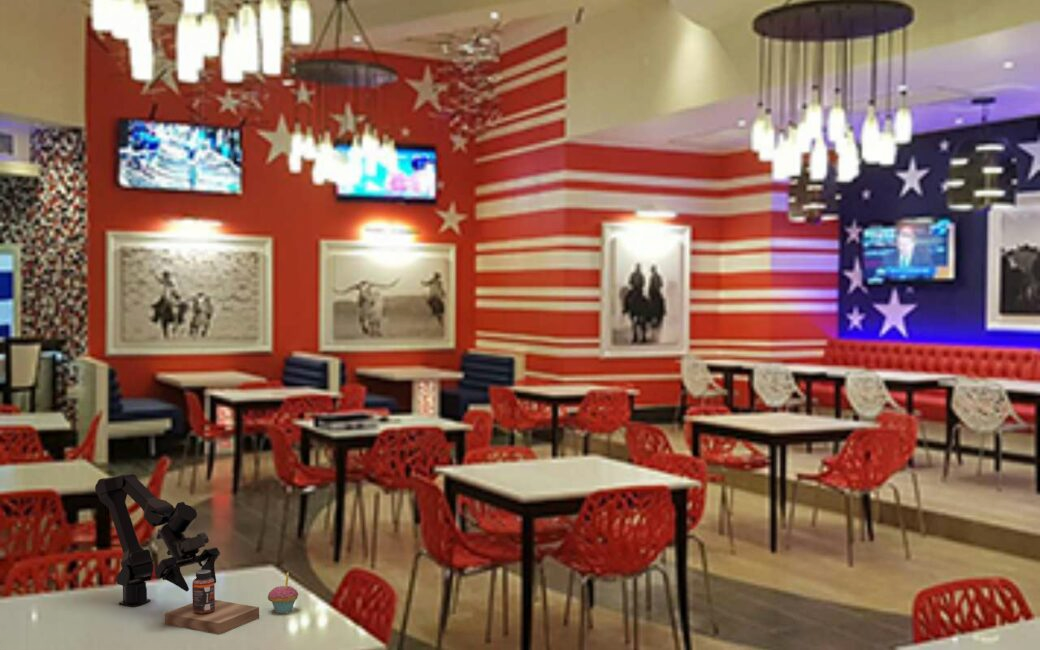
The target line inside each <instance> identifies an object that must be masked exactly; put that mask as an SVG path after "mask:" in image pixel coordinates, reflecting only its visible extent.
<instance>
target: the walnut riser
mask: <svg viewBox="0 0 1040 650" xmlns="http://www.w3.org/2000/svg"><path fill="white" fill-rule="evenodd" d="M163 615H164V616H163V618H164V621H163V622H164V625H168V626H173V627H177V628H184V629H189V630H194V631H195V630H196V631H199V632H207V633H209V634H210V633H211V634H217V635H222V634H224V633H226V632H228V631H231V630H233V629H236V628H239V627H240V626H242V625H245V624H247V623H250V622H253V621H256V620H257V619H260V606H253V605H248V604H242V603H237V602H229V601H224V600H219V599H218V600H217V599H215V610H214V611H213V612H211V613H207V614H196V613H194V612H193V602H192V603H189V604H186V605H184V606H181V607H178V608H175V609H173V610H169V611H168V612H167V611H166V612H165V613H164V614H163Z"/></svg>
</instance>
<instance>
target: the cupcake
mask: <svg viewBox="0 0 1040 650" xmlns="http://www.w3.org/2000/svg"><path fill="white" fill-rule="evenodd" d="M289 577H290V573H289V570H288V571H287V573H286V576H285V584H284V585H280V586H276V587H273V589H271V590H270V591H269V593H268V595H267V601H269V602H271V603H272V606H273V608H274V612H275V613H277V614H288V613H291V612H292V611H293V607H294V604H295V602H296V600H297V599H298V597H299V592H298V590H296V588H294V587H293V586H291V585H289V584H288V583H289ZM287 612H288V613H287Z"/></svg>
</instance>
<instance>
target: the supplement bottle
mask: <svg viewBox="0 0 1040 650" xmlns="http://www.w3.org/2000/svg"><path fill="white" fill-rule="evenodd" d="M195 577H196V578H194V579H193V581H192V583H191V584H192V603H193V612H194V613H196V614H207V613H211V612H213V611H214V610H215V600H216V596H215V589H216V588H215V587H216V586H215V584H214V579H213V578H211V571H210V570H201V569H200V570H197V571H196V572H195Z"/></svg>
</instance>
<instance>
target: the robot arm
mask: <svg viewBox="0 0 1040 650" xmlns="http://www.w3.org/2000/svg"><path fill="white" fill-rule="evenodd" d="M95 493H96V494H97V497H98V499H99V501H100V502H101V504H103V505H104V507H106V508H108V510H109V513H110V517H111V519H112V522H113V526H114V528H115V529H114V530H115V531H116V535H117V538H118V541H119V543H120V548H121V550H122V557H121V561H120V566H121V569H120V571H119V572H118V574H116V577H115V579H116V583H117V584H116V585H119V586H122V601H119V602H118V604H119V605H123V606H128V607H137V606H140V605H143V604H146V603H149V602H151V599H150V598H148V587H147V582H148V581H151V580H152V578H153V574H154V575H155V576H156V578H157V579H158V580H159V579H162V580H163V581H167V582H169V583H171V584H173V585H175V586H176V587H178V588H180V589H182V590H183V591H185V592H189V590H190V588H189V585H188V584H187V582H186V579H185V578H184V576H183V574H182V573H181V572H182V571H181V568H182V567H186V566H190V565H194V564H198V565H199V566H200V567H201V568H200V570H210V571H211V578H213V579H214V585H215V584H216V583H217V578H216V576H217V575H216V570H215V568H216V567H215V564H216V560H217V559H218V558H219V556H220V555H221V552H220V550H219V548H218V547H216V546H213V547H209V548H205V547H206V544H208V543H209V542H210V540H209V537H208V535H207V534H206V532H205V531H204V532H200V533H199V534H196V536H193V537H186V535H185V532H187V531H188V530H189V529H190V527H191V525H192V524H193V523H194V522H195V520H196V518H197V516H198V513H197V510H196V509H195V508H194V507H192V506H191V505H188V504H186V503H185V501H180V502H177V503H176V505H175V506H174V505H173V504H171V503H170V502H168V501H167V500H164V499H160V498H158V497H156V496H155V494H153V493H152V492H151V490H149V489H148V487H146V486H145V485H144V484H143V483H142V482H141V481H140V480H139V478H138V476H137V474H135V473H131V472H130V473H124V474H119V475H115V476H110V477H105V478H104V477H103V478H100V479H98V480H97V483H96V484H95ZM128 496H129V497H130V499H132V500H133V501H134V502H135V503H136V505H138V506H139V507H140V508H141V509H142V511H143V517H144V519H145V521H146V522H147V523H148V525H149V526H151V527H153V528H155V527H159V526H162V527H161V528H160V529H158V530H157V535H156V540H158V541H159V540H162V541H163V542H164V544H165V546H166V548H167V549H168V550H167V552H166V554H167V556H171V557H168V558H164V559H161V561H160V562H159V563H158V564H157V566H156V567H155V565H154V559H153V558H152V555H151V552H150V550H149V549H148V548H146V549H144V548H143V547H141V544H140V541H139V538H138V536H137V533H136V530H135V527H134V524H133V521H132V517H131V515H130V512H129V510H128V506H127V503H126V500H127V498H128ZM203 547H204V548H205V549H203V550H202V552H201V553H200V554H199V552H200V551H201V550H200V549H201V548H203ZM197 554H199V555H197Z"/></svg>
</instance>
